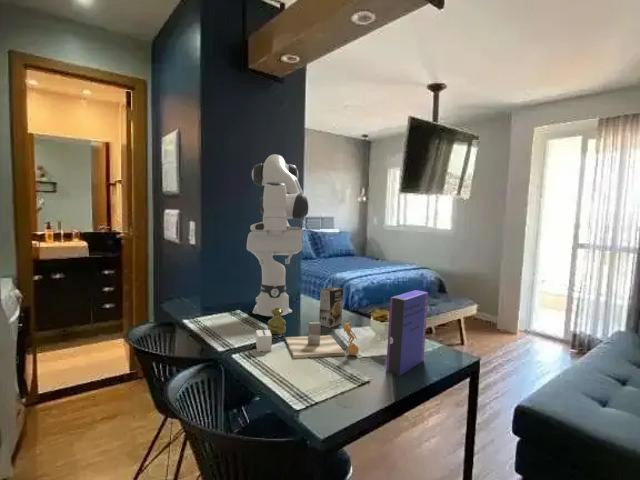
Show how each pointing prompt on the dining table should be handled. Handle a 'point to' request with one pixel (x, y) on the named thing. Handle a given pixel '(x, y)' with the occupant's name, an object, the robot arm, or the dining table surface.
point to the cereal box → (406, 331)
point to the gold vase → (277, 322)
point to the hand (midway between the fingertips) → (274, 264)
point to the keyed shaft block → (314, 344)
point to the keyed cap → (263, 340)
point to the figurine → (352, 347)
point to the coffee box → (331, 306)
